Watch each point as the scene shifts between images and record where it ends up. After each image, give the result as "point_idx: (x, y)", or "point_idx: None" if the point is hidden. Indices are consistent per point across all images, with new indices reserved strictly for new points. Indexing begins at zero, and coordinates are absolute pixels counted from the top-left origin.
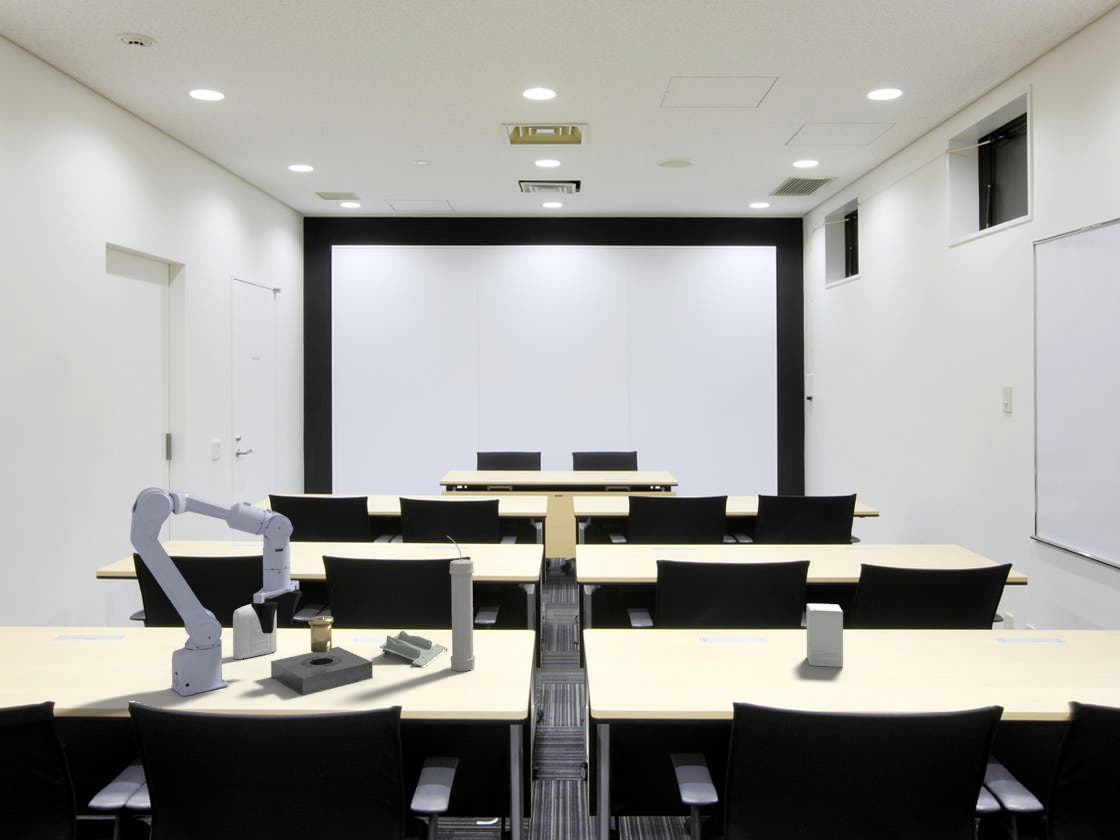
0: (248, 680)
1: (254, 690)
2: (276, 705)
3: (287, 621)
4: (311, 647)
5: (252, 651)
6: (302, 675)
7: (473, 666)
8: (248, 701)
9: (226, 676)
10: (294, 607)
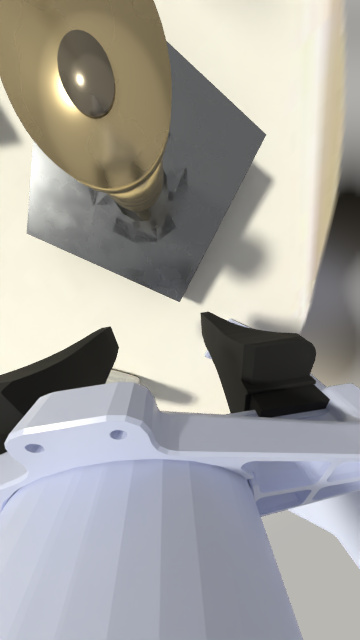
0: (199, 313)
1: (235, 274)
2: (299, 175)
3: (110, 339)
4: (159, 191)
5: (121, 377)
6: (244, 155)
7: None
8: (281, 245)
9: (194, 348)
10: (69, 351)
